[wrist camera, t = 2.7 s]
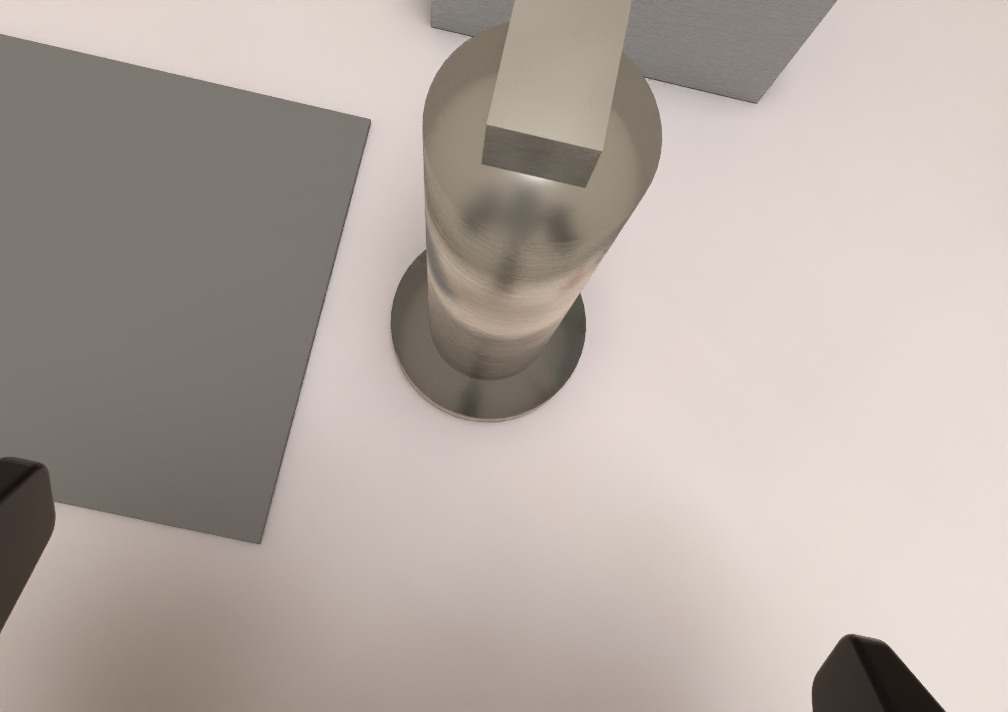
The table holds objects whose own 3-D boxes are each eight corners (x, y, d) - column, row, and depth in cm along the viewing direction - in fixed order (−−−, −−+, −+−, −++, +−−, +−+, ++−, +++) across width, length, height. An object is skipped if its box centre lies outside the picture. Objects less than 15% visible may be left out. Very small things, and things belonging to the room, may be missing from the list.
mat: (259, 543, 21) (258, 543, 20) (-214, 444, 20) (-221, 444, 20) (371, 122, 23) (370, 119, 23) (-49, 25, 23) (-53, 21, 22)
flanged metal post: (561, 440, 22) (734, 339, 9) (372, 399, 22) (285, 239, 9) (602, 224, 23) (803, -123, 10) (425, 184, 23) (412, -221, 10)
